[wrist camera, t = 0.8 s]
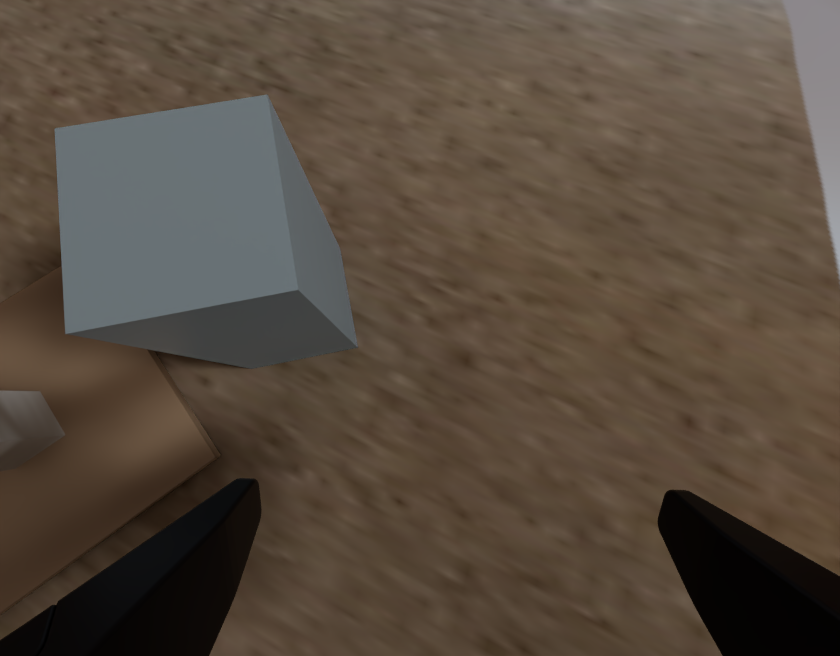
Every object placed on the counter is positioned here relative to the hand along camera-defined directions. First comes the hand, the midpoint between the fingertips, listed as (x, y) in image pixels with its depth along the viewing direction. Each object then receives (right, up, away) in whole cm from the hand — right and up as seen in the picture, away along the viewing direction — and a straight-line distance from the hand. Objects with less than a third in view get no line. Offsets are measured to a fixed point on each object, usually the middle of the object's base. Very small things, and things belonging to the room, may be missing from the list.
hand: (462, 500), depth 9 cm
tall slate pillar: (-8, +5, +14) cm, 17 cm away
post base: (-21, -2, +12) cm, 25 cm away
